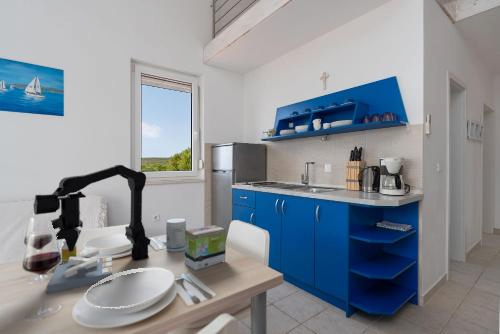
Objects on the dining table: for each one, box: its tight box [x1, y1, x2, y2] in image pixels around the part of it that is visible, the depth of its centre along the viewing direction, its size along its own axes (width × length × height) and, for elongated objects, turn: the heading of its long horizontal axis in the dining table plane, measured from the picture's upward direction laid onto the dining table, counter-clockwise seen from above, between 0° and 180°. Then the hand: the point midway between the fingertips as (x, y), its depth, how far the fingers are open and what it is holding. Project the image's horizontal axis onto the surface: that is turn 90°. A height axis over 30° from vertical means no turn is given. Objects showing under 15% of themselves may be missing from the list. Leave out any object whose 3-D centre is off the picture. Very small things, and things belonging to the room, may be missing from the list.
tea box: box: [184, 224, 227, 271], centre depth 107 cm, size 15×10×15 cm, turn 131°
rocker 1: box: [76, 248, 101, 258], centre depth 100 cm, size 10×4×2 cm, turn 120°
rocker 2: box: [67, 257, 99, 266], centre depth 95 cm, size 10×4×2 cm, turn 120°
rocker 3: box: [65, 257, 99, 278], centre depth 90 cm, size 10×4×2 cm, turn 120°
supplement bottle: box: [60, 239, 78, 265], centre depth 109 cm, size 5×5×10 cm
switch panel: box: [46, 256, 113, 294], centre depth 95 cm, size 19×19×6 cm
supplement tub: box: [165, 217, 187, 253], centre depth 124 cm, size 10×10×15 cm
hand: (71, 251), depth 93 cm, fingers closed
